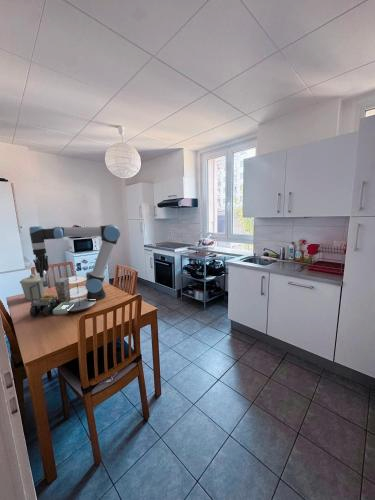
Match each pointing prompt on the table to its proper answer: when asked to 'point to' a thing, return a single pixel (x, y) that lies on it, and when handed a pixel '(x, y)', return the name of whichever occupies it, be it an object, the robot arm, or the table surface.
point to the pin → (45, 280)
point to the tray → (62, 311)
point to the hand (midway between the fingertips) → (44, 280)
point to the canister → (29, 282)
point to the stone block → (63, 290)
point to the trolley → (42, 303)
